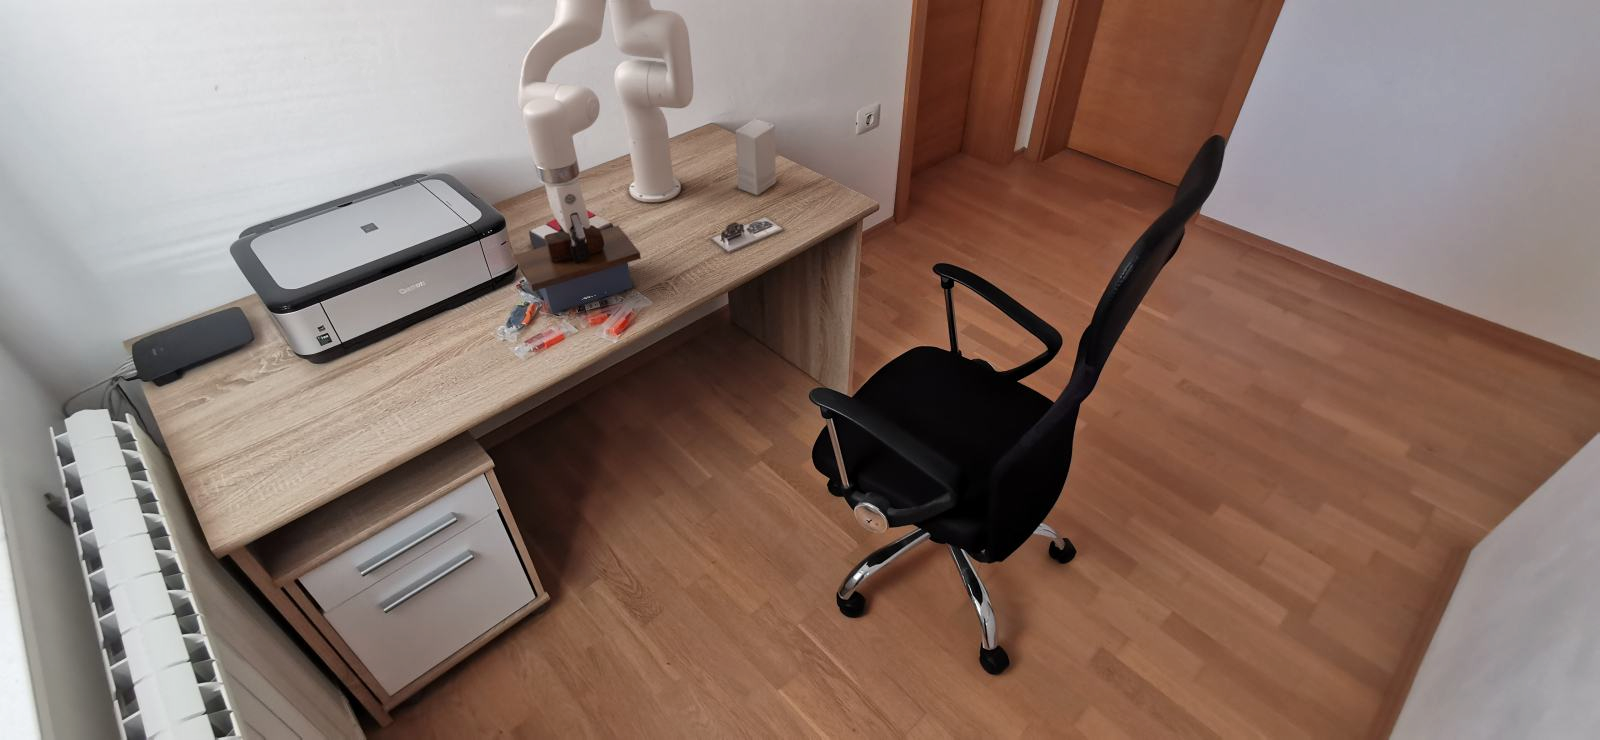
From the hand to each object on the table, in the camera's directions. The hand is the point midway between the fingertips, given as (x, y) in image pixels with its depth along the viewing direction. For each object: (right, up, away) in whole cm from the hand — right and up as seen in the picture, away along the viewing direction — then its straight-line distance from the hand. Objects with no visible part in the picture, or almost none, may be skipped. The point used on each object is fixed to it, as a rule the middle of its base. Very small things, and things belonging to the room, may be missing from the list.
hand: (576, 251), depth 149 cm
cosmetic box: (+34, +23, +39) cm, 56 cm away
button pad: (-6, +5, +20) cm, 21 cm away
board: (0, -1, +1) cm, 2 cm away
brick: (0, 0, 0) cm, 1 cm away
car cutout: (+33, +7, +22) cm, 40 cm away
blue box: (0, -7, +6) cm, 9 cm away
